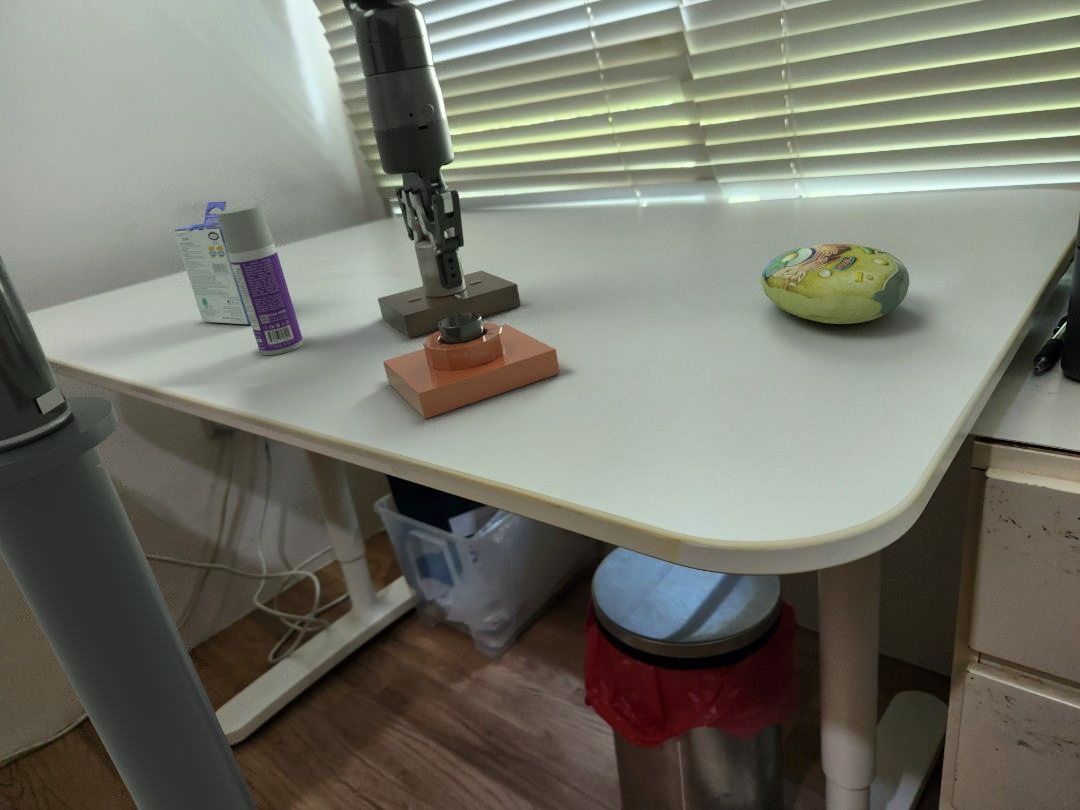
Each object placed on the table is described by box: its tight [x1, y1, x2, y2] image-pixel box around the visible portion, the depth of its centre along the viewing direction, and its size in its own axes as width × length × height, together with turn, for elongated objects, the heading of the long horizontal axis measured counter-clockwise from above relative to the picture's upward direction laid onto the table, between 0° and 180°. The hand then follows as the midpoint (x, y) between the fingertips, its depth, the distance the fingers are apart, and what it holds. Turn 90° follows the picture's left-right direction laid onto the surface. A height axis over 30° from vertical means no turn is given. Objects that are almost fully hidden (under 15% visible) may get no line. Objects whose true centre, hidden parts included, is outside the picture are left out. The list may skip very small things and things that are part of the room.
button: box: [438, 313, 484, 345], centre depth 62 cm, size 4×4×2 cm
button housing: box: [382, 321, 561, 420], centre depth 63 cm, size 12×10×4 cm
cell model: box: [760, 243, 910, 325], centre depth 65 cm, size 11×8×15 cm
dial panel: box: [377, 270, 521, 339], centre depth 83 cm, size 13×10×3 cm
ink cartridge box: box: [173, 200, 251, 325], centre depth 94 cm, size 10×6×14 cm, turn 58°
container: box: [216, 203, 304, 356], centre depth 79 cm, size 5×5×15 cm
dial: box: [414, 236, 466, 297], centre depth 82 cm, size 5×5×6 cm
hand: (444, 282), depth 82 cm, fingers open, 4 cm apart
